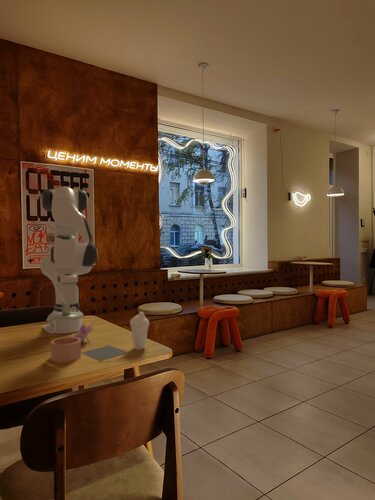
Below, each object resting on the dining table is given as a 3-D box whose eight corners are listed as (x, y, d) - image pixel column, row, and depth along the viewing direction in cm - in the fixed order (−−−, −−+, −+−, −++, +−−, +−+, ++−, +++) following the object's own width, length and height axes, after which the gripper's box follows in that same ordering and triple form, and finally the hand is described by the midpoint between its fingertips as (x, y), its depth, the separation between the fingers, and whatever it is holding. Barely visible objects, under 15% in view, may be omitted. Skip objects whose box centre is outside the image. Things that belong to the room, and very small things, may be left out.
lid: (42, 317, 139) (41, 304, 139) (72, 312, 148) (72, 300, 148) (58, 322, 130) (58, 309, 130) (89, 316, 140) (89, 304, 140)
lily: (98, 342, 166) (89, 323, 167) (104, 337, 156) (95, 318, 158) (73, 354, 159) (64, 335, 160) (79, 351, 150) (69, 330, 151)
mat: (80, 353, 146) (80, 352, 146) (109, 346, 156) (109, 345, 156) (100, 361, 136) (100, 360, 136) (129, 353, 146) (129, 352, 146)
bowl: (45, 358, 139) (45, 340, 139) (71, 352, 148) (71, 335, 147) (59, 365, 132) (59, 346, 132) (86, 358, 140) (86, 340, 140)
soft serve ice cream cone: (130, 352, 148) (130, 313, 147) (128, 346, 156) (128, 310, 155) (150, 350, 150) (150, 312, 150) (147, 344, 158) (147, 309, 158)
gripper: (53, 274, 147) (53, 307, 147) (60, 279, 128) (61, 317, 129) (69, 273, 149) (69, 306, 150) (78, 278, 131) (79, 315, 132)
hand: (65, 311), depth 139 cm, fingers closed on lid, 3 cm apart
